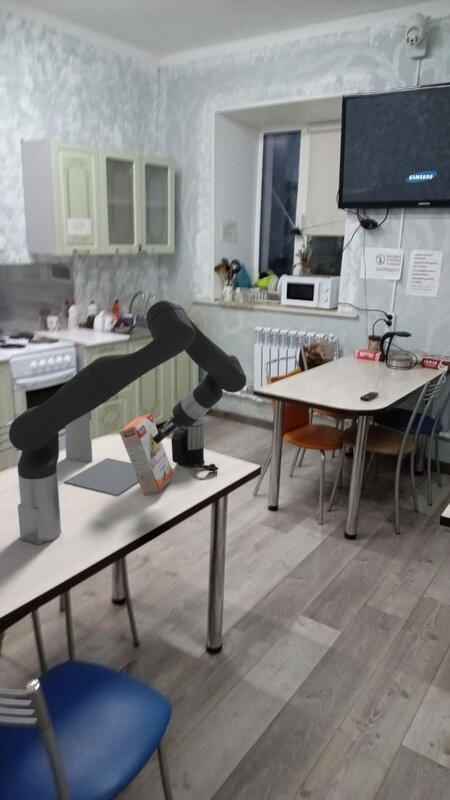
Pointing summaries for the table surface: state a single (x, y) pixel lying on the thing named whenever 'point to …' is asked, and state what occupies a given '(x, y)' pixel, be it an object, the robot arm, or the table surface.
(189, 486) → the table surface
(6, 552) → the table surface
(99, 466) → the mat
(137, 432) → the cracker box
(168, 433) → the robot arm
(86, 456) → the tall pale column
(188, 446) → the milk frother
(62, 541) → the table surface
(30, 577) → the table surface
